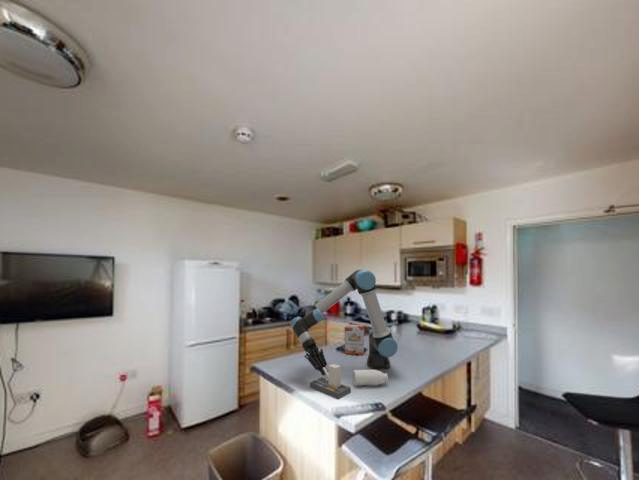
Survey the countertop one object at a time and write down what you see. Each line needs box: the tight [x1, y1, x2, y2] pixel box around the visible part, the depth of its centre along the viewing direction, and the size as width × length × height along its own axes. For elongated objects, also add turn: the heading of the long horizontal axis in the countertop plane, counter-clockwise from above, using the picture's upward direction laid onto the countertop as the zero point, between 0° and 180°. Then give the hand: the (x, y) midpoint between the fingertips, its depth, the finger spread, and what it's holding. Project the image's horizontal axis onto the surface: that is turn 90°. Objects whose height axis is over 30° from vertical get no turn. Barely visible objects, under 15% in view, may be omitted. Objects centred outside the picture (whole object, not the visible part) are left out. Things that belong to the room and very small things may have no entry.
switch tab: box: [327, 363, 342, 388], centre depth 143 cm, size 5×4×10 cm
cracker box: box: [344, 323, 365, 356], centre depth 207 cm, size 14×6×21 cm, turn 81°
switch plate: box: [309, 376, 352, 400], centre depth 145 cm, size 20×10×4 cm, turn 46°
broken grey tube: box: [352, 369, 389, 387], centre depth 151 cm, size 8×19×8 cm, turn 91°
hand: (328, 379), depth 145 cm, fingers closed
